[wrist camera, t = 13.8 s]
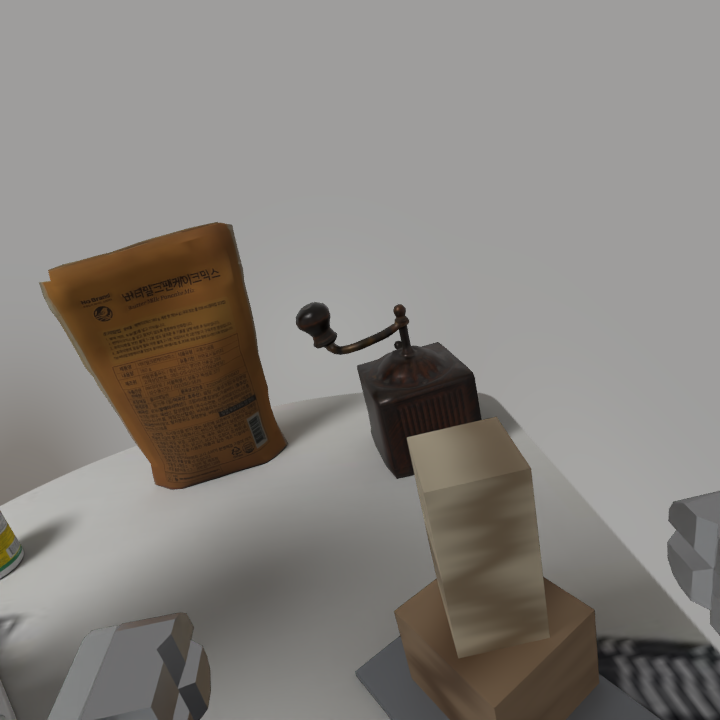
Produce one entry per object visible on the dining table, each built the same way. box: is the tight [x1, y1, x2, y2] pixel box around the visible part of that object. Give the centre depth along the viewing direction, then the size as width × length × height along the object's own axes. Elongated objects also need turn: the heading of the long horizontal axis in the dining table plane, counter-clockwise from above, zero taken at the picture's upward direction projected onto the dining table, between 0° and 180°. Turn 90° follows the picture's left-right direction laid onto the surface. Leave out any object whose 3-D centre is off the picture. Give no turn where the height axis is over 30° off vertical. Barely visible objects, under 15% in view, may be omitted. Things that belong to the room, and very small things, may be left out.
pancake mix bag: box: [39, 222, 288, 489], centre depth 59 cm, size 7×19×28 cm, turn 103°
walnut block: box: [394, 577, 599, 720], centre depth 32 cm, size 8×8×6 cm
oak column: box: [407, 417, 550, 658], centre depth 29 cm, size 5×5×11 cm
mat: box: [355, 636, 661, 720], centre depth 32 cm, size 16×11×1 cm
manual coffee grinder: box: [296, 302, 481, 479], centre depth 57 cm, size 16×11×18 cm
